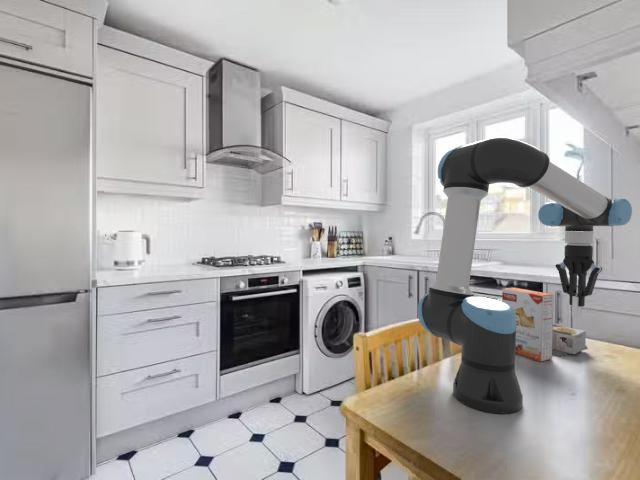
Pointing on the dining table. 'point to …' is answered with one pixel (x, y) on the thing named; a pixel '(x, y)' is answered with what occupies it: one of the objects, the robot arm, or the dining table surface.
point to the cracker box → (532, 322)
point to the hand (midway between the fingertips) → (576, 315)
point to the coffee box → (568, 339)
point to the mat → (559, 353)
